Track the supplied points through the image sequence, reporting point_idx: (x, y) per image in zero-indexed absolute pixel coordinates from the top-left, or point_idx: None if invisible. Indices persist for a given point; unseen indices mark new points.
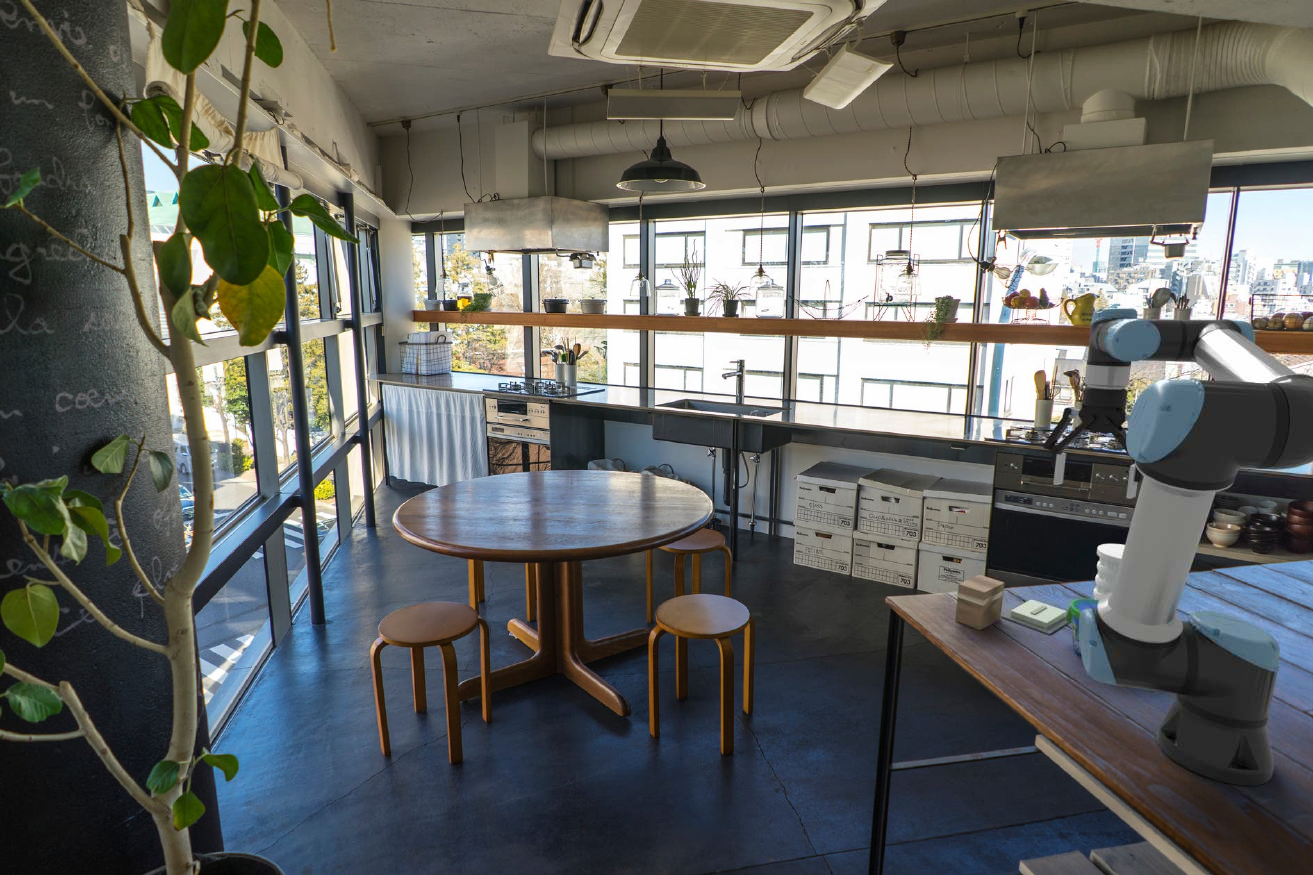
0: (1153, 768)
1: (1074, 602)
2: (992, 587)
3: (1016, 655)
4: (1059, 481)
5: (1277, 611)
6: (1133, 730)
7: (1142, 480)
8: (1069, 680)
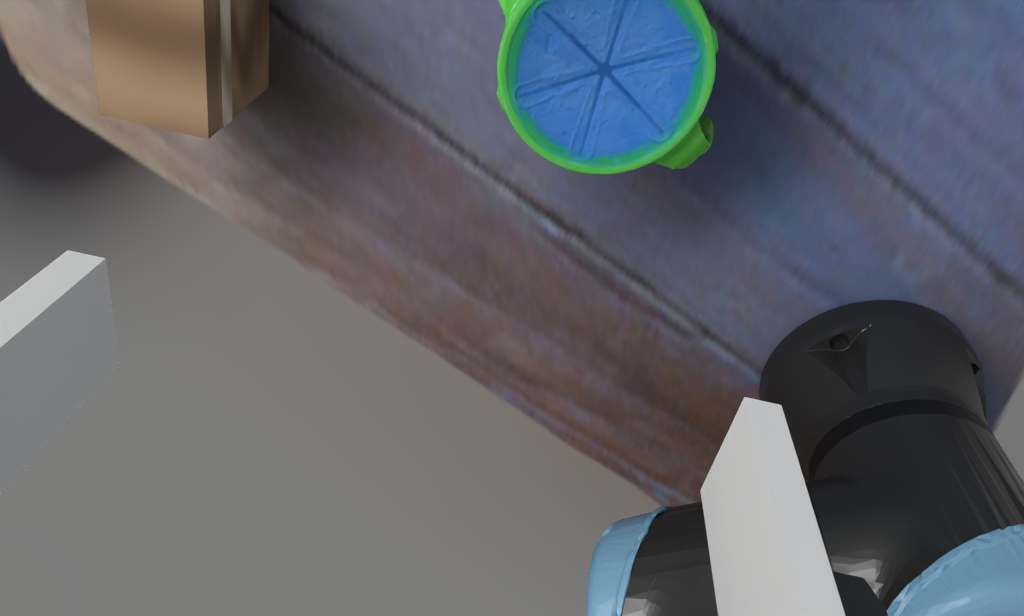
0: None
1: (508, 66)
2: (200, 61)
3: (417, 190)
4: (96, 346)
5: None
6: (716, 376)
7: (867, 599)
8: (567, 244)
